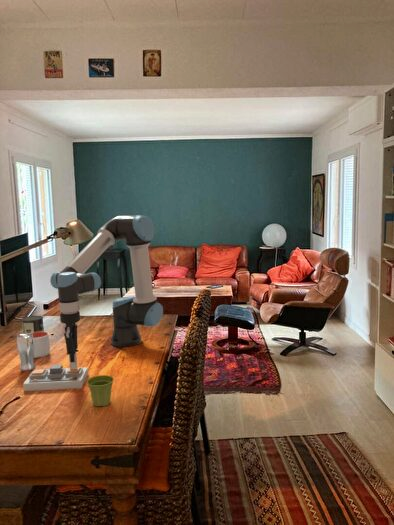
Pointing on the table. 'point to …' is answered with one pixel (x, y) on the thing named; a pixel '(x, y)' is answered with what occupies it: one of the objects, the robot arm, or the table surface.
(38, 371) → the key
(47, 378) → the console
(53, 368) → the key middle
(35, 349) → the cup
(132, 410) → the table surface
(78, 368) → the key
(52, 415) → the table surface
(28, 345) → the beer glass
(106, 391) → the plant pot
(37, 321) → the coffee can
